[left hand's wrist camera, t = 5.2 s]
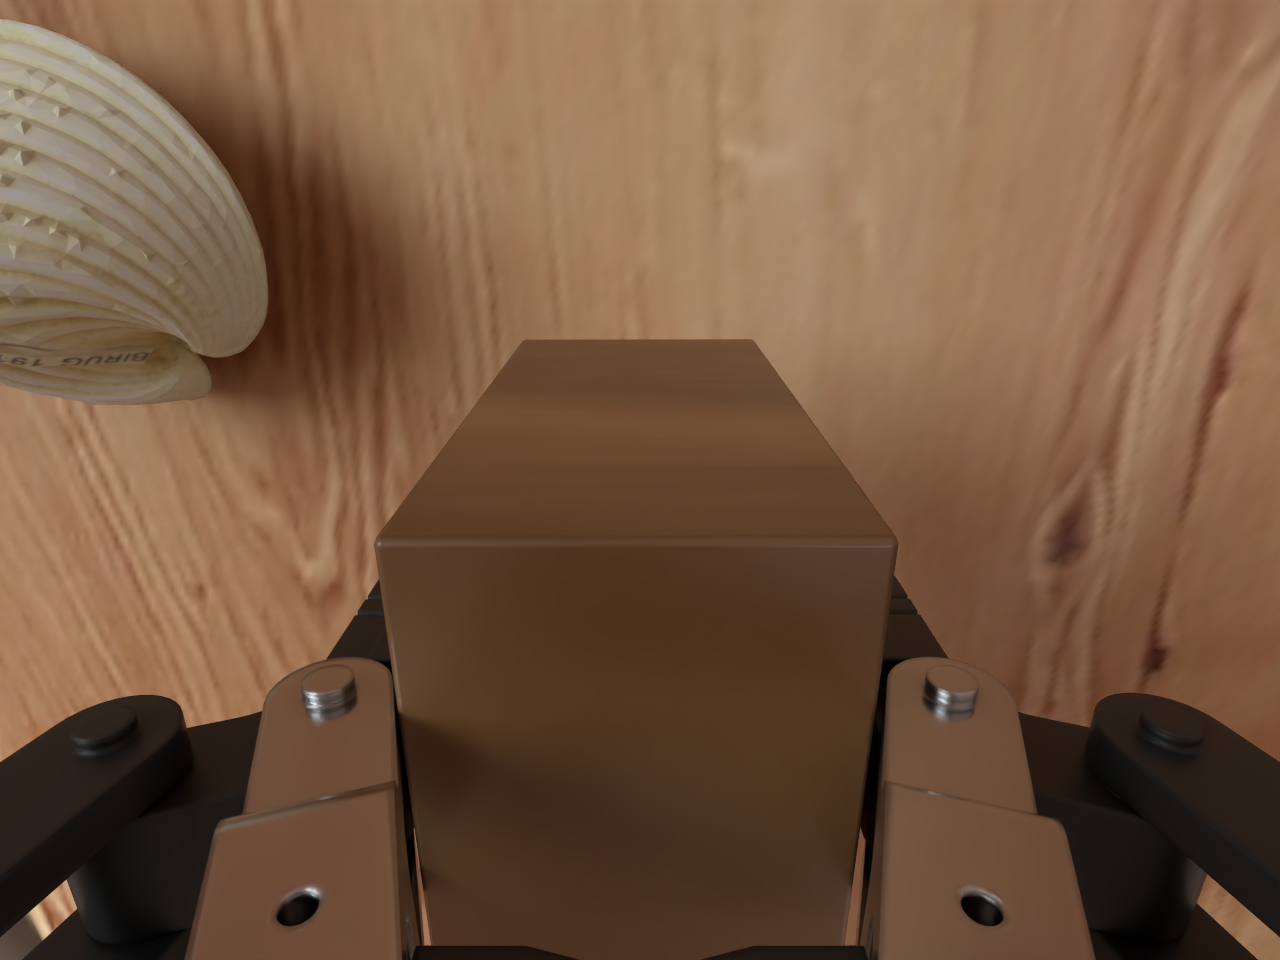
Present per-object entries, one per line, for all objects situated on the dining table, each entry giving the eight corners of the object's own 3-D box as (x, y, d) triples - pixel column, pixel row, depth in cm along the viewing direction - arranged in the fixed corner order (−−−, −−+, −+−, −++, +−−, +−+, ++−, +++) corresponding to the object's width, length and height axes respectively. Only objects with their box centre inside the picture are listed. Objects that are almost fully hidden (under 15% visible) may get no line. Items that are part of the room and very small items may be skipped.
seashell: (143, 503, 21) (-281, 373, 16) (214, 281, 25) (-98, 120, 20) (291, 371, 17) (-228, 126, 11) (347, 128, 21) (-9, -129, 16)
